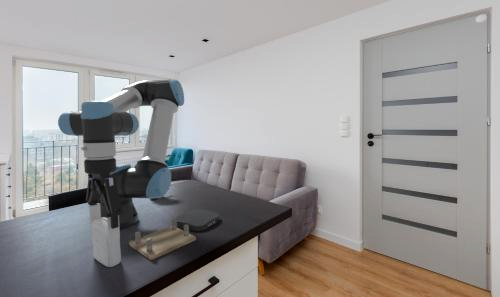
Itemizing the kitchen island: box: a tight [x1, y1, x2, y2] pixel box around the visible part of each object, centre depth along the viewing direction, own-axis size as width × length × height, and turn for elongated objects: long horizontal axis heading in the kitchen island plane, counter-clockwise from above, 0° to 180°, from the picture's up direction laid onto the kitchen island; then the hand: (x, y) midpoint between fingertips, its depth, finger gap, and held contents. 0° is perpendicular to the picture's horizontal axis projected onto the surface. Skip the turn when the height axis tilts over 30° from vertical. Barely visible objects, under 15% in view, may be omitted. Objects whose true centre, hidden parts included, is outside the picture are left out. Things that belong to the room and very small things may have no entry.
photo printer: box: [90, 217, 122, 268], centre depth 69 cm, size 10×4×12 cm, turn 54°
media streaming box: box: [175, 209, 220, 232], centre depth 97 cm, size 15×15×3 cm
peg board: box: [128, 218, 197, 261], centre depth 80 cm, size 14×16×5 cm
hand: (104, 232), depth 69 cm, fingers open, 13 cm apart
